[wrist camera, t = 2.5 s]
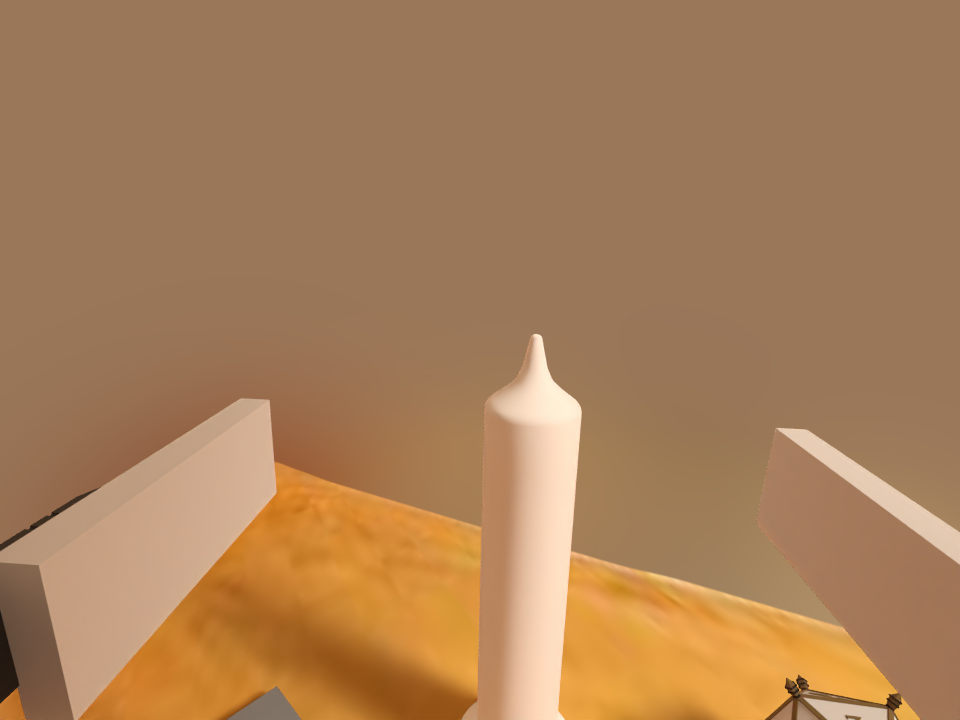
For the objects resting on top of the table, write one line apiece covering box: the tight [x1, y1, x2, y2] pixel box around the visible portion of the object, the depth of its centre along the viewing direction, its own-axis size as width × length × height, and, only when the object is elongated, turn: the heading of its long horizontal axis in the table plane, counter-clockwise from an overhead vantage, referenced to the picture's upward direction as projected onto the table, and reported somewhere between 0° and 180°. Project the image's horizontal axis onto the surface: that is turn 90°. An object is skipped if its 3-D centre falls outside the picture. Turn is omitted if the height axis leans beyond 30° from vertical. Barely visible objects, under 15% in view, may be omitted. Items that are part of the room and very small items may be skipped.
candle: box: [461, 334, 581, 720], centre depth 25 cm, size 7×7×25 cm
